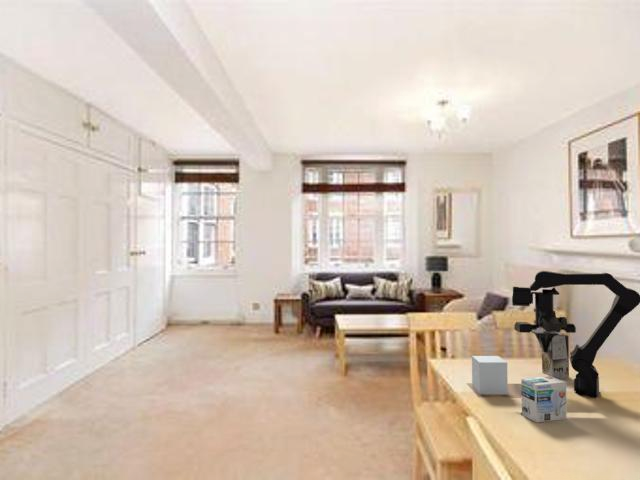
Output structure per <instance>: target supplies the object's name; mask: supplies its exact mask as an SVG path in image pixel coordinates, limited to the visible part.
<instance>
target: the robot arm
mask: <svg viewBox="0 0 640 480" xmlns="http://www.w3.org/2000/svg"><path fill="white" fill-rule="evenodd" d="M565 285H566V286H567V285H568V286H570V285H572V286H575V285H576V286H580V285H583V286H584V285H585V286H586V285H588V286H589V285H590V286H591V285H592V286H596V285H597V286H599V285H601V286H605V287H606V288H607V289H609V291H611V292H612V293H613V294H614V295H615V296H614V298H613V302H612V303H611V307H610V310H609V311H608V313H606V315H605V316H604V318H603V319H602V320H601V322H600V323H599V324H598V326H597V327H596V328H595V330H594V331H593V332H592V333H591V335H590V336H589V338H588V339H587V341H585V343H584V344H582V345H581V346H580V345H579V344H578V343H577V344H576V345H575V346H574V349H573V350H572V351H571V352H569V354H570V355H569V363H570V366H571V367H572V369H573V370H574V371H575V372H577V374H575V378H574V379H573V391H574V394H576V395H578V396H581V397H586V398H587V397H588V398H592V399H597V398H598V397H599V396H600V395H601V392H600V377H599V372H598V370H597V368H596V367H595V366H594V365H593V364H594V361H595V359H596V355H597V353H598V351H599V350H600V349H601V347H602V346H603V345H604V343H605V342H606V341H607V339H608V338H609V337H610V335H611V334H612V332H614V329H616V327H617V326H618V324H619V323H620V321H621V320H622V319H623V318H624V317H625V316H627V315H628V314H629V313H631V312H632V311H633V310H634V309H636V308H637V306H638V305H640V293H639V292H637V291H636V290H635V289H632V288H629V287H626V286H625V285H624V284H622V283H621V281H619V280H617V279H616V278H615V277H614V276H613V275H612V274H610V273H609V272H602V273H561V272H555V271H549V270H540V271H538V272H537V273H536V274H535V276H534V281H533V282H532V284H530V286H529V287H524V286H523V287H522V286H521V287H520V286H513V287H512V298H511V300H512V301H511V303H512V306H513V307H516V306H517V307H530V305H532V304H534V308H533V312H534V313H535V315H534V317H535V318H534V319H535V320H534V321H533V323H534V324H531V323H529V322H527V321H516V322H515V323H514V326H513V327H514V328H513V329H514V330H515V331H517V332H519V333H521V334H522V333H525V334H526V333H532V334H534V336H535V337H536V338H537V340H538V343H539V346H540V347H541V351H542V350H543V352H547V350H548V348H549V345H550V342H551V340H552V338H553V337H554V336H555V335H558V334H559V333H562V331H565V332H566V333H569V334H571V333H573V334H575V333H577V327H576V325H575V324H574V323H571V322H569V321H568V320H567V317H565V316H559V317H557V316H556V314H557V313H556V311H555V309H554V295H555V296H557V295H560V292H559V291H558V289H556V287H560V286H565ZM548 288H550V289H548ZM540 289H541V291H538V290H540ZM534 302H535V303H534ZM557 332H559V333H557Z"/></svg>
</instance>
